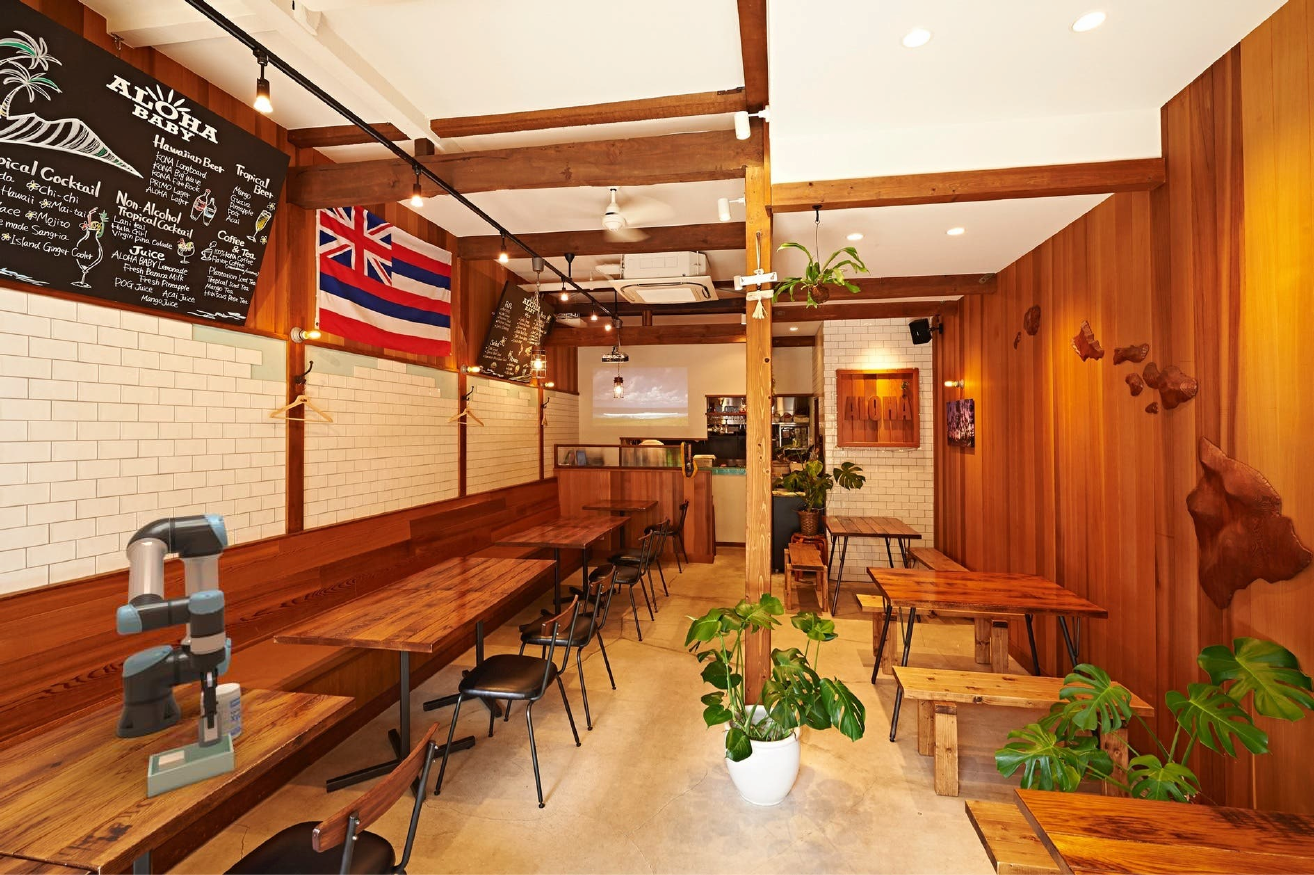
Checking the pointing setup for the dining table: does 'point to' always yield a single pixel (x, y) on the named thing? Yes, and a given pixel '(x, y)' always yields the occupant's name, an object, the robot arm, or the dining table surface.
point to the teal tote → (191, 766)
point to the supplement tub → (228, 708)
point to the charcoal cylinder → (201, 732)
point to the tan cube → (171, 761)
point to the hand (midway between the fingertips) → (210, 735)
